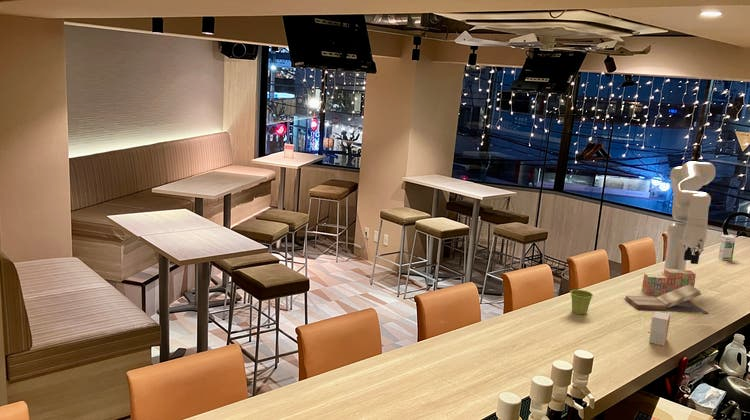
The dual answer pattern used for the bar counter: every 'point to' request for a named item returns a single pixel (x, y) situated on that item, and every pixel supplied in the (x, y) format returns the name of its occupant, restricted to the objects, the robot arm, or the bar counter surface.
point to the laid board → (646, 302)
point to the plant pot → (580, 301)
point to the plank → (679, 295)
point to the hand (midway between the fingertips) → (690, 261)
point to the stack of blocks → (667, 281)
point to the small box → (659, 328)
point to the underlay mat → (680, 308)
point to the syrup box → (726, 247)
